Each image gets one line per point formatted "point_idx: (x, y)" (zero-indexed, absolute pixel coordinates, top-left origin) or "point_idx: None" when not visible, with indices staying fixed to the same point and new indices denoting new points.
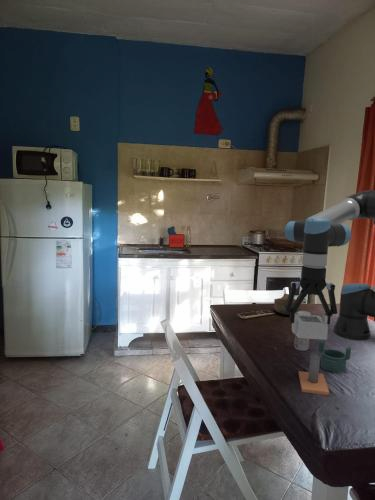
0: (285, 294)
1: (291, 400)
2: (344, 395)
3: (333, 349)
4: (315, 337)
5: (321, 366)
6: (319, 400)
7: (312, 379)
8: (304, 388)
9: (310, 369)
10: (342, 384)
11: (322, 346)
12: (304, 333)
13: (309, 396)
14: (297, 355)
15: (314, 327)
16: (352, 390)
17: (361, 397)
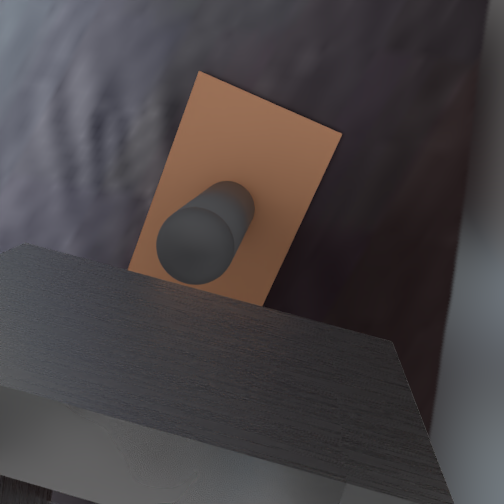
0: None
1: (456, 51)
2: (114, 59)
3: None
4: (164, 289)
5: None
6: (288, 27)
7: (242, 191)
8: (325, 136)
9: (244, 219)
10: (65, 174)
11: None
12: (318, 353)
13: (323, 78)
14: None
15: (138, 370)
16: (41, 104)
17: (29, 24)
